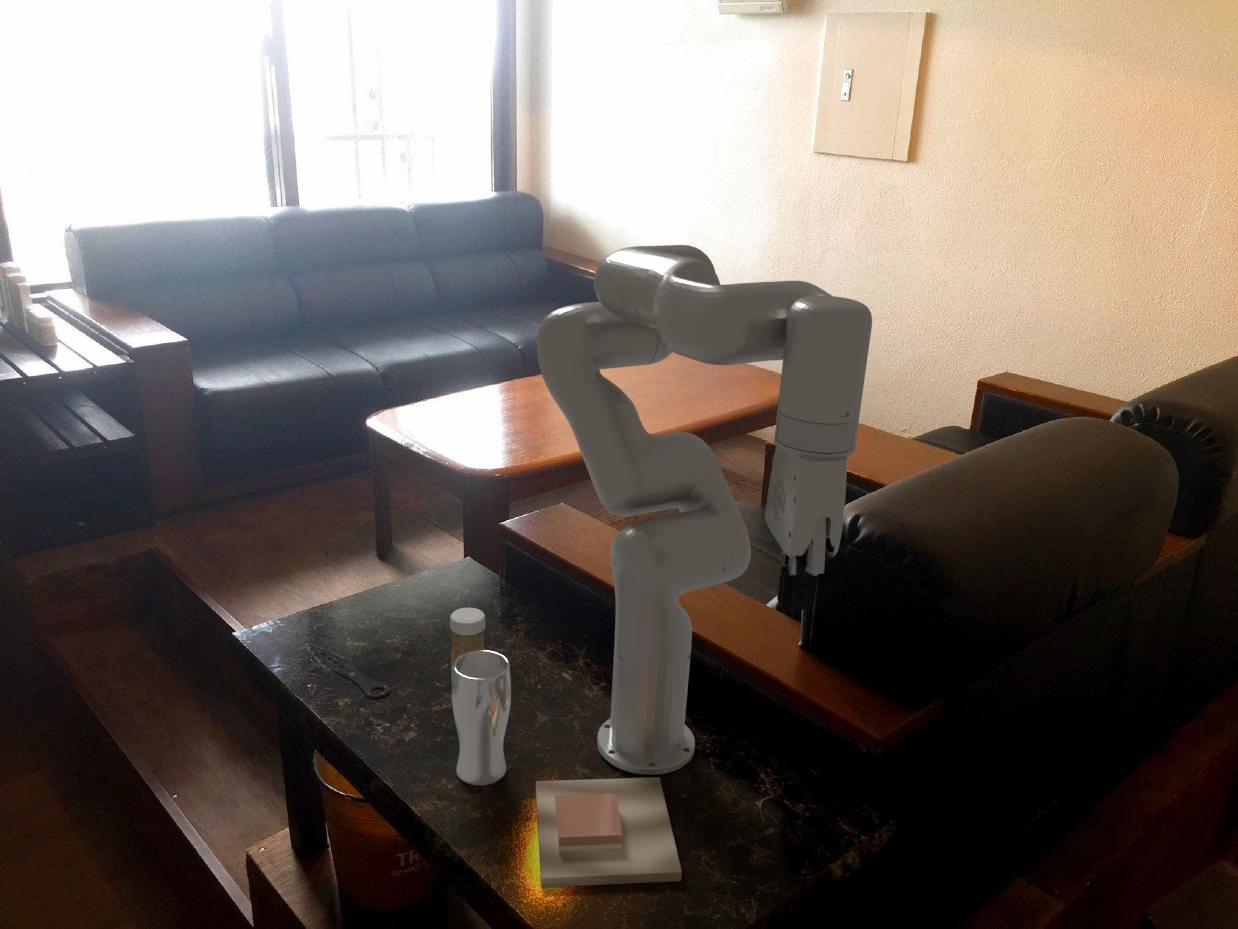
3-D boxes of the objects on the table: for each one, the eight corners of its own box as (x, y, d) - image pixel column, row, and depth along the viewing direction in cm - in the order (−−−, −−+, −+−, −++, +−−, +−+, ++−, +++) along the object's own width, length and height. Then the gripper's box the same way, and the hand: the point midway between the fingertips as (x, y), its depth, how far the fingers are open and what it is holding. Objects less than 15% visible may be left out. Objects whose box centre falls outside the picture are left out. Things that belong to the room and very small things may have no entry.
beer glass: (456, 792, 121) (455, 683, 116) (449, 756, 128) (448, 652, 123) (514, 784, 123) (516, 677, 118) (504, 750, 130) (506, 646, 124)
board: (535, 789, 123) (535, 781, 122) (658, 785, 124) (659, 777, 124) (541, 887, 108) (541, 878, 107) (681, 881, 110) (681, 872, 109)
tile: (558, 851, 111) (554, 808, 118) (622, 848, 112) (615, 806, 119) (558, 837, 111) (555, 795, 117) (622, 835, 112) (615, 793, 118)
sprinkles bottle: (452, 692, 141) (451, 606, 136) (485, 692, 142) (485, 606, 137) (450, 711, 137) (449, 623, 132) (484, 711, 137) (484, 623, 133)
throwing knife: (371, 704, 138) (371, 700, 138) (290, 649, 150) (290, 645, 150) (397, 692, 141) (397, 688, 141) (316, 638, 153) (316, 635, 153)
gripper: (757, 406, 102) (740, 572, 108) (799, 458, 88) (777, 645, 94) (830, 407, 103) (809, 572, 109) (882, 458, 89) (855, 644, 95)
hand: (794, 605), depth 102 cm, fingers closed
